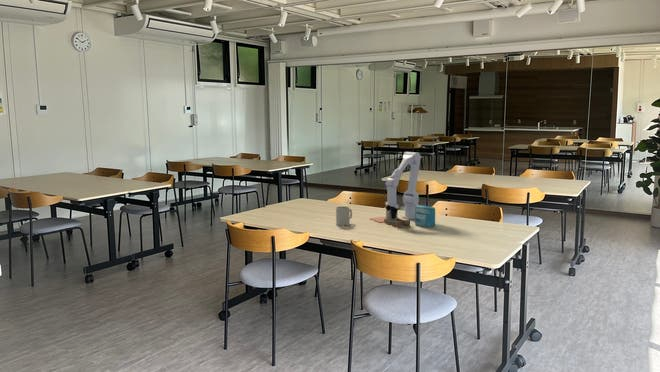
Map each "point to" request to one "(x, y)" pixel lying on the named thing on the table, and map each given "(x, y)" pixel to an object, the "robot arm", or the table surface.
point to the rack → (398, 222)
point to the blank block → (389, 217)
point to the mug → (343, 215)
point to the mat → (378, 219)
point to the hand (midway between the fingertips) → (391, 217)
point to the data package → (425, 216)
